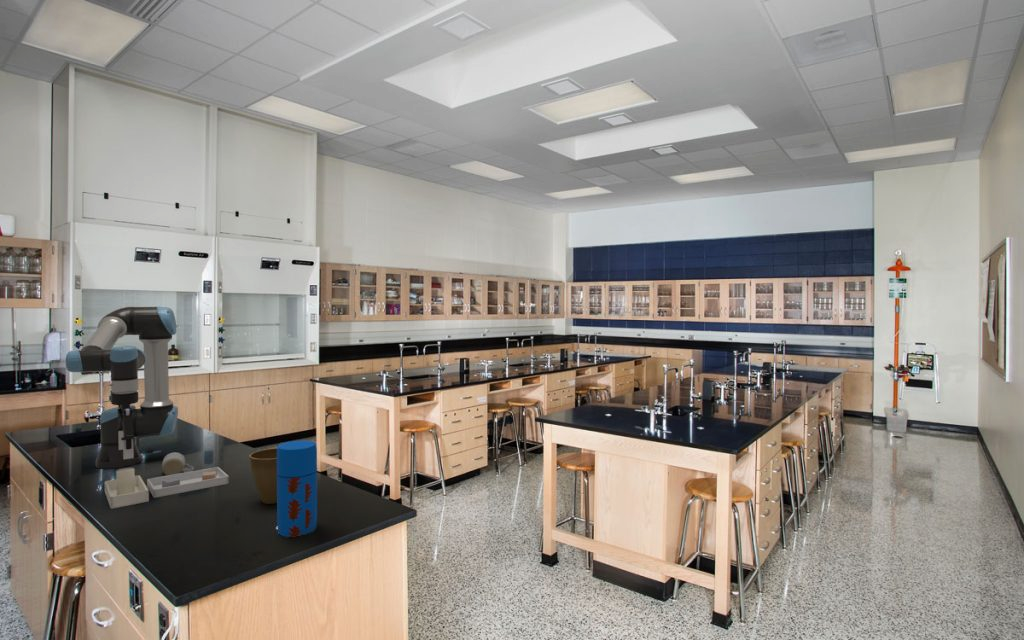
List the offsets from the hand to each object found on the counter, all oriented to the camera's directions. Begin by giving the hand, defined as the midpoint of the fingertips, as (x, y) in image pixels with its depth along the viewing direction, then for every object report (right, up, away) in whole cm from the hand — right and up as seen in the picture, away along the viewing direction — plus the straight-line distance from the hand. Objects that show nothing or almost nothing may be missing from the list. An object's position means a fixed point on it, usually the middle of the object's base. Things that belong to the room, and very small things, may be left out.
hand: (126, 453), depth 186 cm
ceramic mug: (+1, -14, +27) cm, 30 cm away
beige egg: (0, -14, 0) cm, 14 cm away
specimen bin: (0, -15, 0) cm, 15 cm away
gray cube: (+12, -14, +5) cm, 20 cm away
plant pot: (+51, -15, -2) cm, 54 cm away
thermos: (+69, -16, -27) cm, 75 cm away
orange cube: (+21, -14, +13) cm, 29 cm away
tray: (+14, -15, +12) cm, 24 cm away
